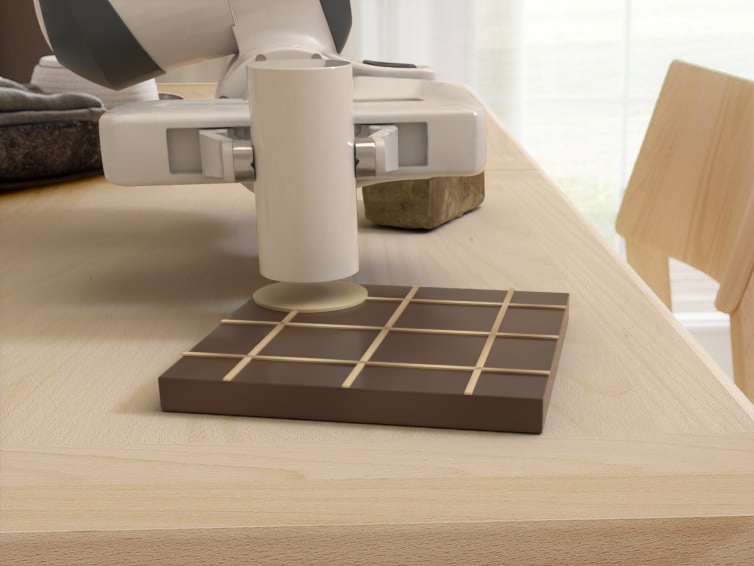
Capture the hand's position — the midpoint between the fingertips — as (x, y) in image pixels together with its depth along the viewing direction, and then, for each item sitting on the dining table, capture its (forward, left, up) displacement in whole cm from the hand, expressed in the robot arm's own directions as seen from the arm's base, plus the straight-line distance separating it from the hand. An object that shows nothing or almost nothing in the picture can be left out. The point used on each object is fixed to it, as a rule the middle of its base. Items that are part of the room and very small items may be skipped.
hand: (306, 162), depth 56 cm
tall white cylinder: (0, +1, -5) cm, 6 cm away
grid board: (+5, -4, -8) cm, 10 cm away
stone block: (+1, +29, -9) cm, 30 cm away
